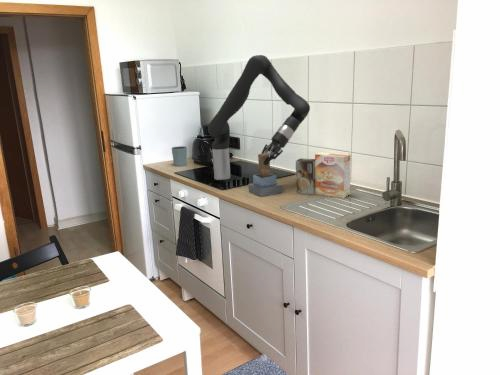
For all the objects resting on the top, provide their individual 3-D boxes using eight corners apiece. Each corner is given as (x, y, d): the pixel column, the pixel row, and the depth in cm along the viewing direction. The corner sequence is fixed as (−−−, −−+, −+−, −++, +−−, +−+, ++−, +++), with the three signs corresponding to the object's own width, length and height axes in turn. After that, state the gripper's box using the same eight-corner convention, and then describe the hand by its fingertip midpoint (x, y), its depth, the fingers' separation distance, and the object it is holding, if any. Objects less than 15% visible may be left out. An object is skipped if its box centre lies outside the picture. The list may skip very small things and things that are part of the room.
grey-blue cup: (175, 163, 291) (173, 146, 288) (189, 163, 290) (188, 145, 287) (171, 166, 281) (169, 148, 278) (186, 166, 280) (184, 148, 277)
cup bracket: (248, 191, 212) (247, 175, 210) (269, 187, 218) (268, 171, 215) (260, 197, 202) (260, 179, 200) (282, 192, 207) (281, 175, 205)
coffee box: (318, 191, 206) (318, 159, 202) (314, 195, 201) (313, 161, 197) (300, 190, 211) (300, 158, 207) (295, 193, 205) (295, 160, 201)
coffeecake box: (314, 194, 202) (314, 153, 197) (321, 190, 208) (321, 151, 203) (344, 198, 193) (344, 156, 188) (350, 194, 199) (351, 153, 194)
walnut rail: (259, 182, 209) (258, 154, 206) (266, 181, 211) (265, 153, 208) (263, 184, 206) (262, 155, 202) (270, 182, 208) (269, 154, 204)
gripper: (270, 129, 212) (250, 157, 210) (286, 132, 200) (264, 161, 198) (279, 139, 216) (259, 166, 214) (295, 142, 204) (274, 170, 201)
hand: (262, 163), depth 206 cm, fingers closed on walnut rail, 4 cm apart
